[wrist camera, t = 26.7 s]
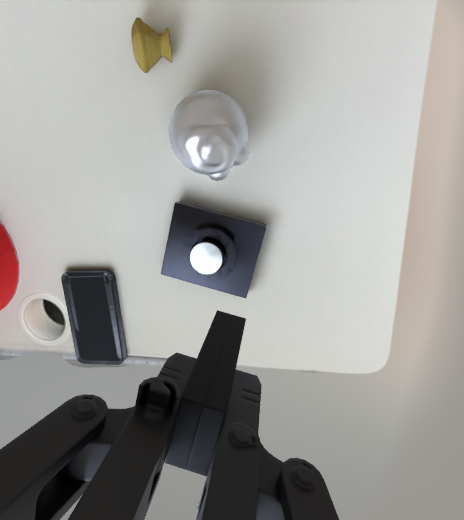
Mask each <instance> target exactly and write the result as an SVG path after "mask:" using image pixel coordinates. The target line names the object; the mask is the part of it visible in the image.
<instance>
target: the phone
mask: <svg viewBox="0 0 464 520" xmlns="http://www.w3.org/2000/svg"><path fill="white" fill-rule="evenodd" d="M61 279H62V285H63V290H64V295H65V300H66V306H67V311H68V316H69V321H70V326H71V332H72V337H73V342H74V347H75V353H76V357H77V360H78V361H79V362H81V363H84V364H108V365H120V364H121V363H122V362H123V361H124V360H125V359H126V357H127V354H126V347H125V340H124V334H123V327H122V320H121V313H120V306H119V299H118V292H117V286H116V279H115V275H114V273H113V272H112V271H110V270H70V271H68V272H66V273H64V274H63V275H62V277H61Z"/></svg>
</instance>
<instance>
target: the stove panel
mask: <svg viewBox="0 0 464 520" xmlns="http://www.w3.org/2000/svg"><path fill="white" fill-rule="evenodd" d="M266 226H267V225H266V224H263V223H259V222H255V221H252V220H248V219H244V218H241V217H237V216H234V215H230V214H226V213H223V212H219V211H215V210H212V209H208V208H204V207H201V206H197V205H193V204H190V203H186V202H182V201H178V202H175V205H174V211H173V216H172V221H171V226H170V231H169V236H168V241H167V246H166V251H165V256H164V261H163V266H162V271H161V274H163V275H166V276H170V277H173V278H177V279H180V280H184V281H187V282H191V283H194V284H198V285H201V286H205V287H208V288H212V289H215V290H219V291H222V292H226V293H229V294H233V295H236V296H240V297H243V298H246V296H247V293H248V289H249V286H250V282H251V279H252V276H253V272H254V269H255V265H256V262H257V258H258V255H259V251H260V248H261V244H262V241H263V237H264V234H265V230H266ZM204 239H213V240H215V241H217V242H219V243H220V244H221V245H222V247H223V249H224V252H225V259H224V261H223V263H222V265H221V267H220V268H219V269H218V270H217V271H216V272H215V273H212V274H202V273H200V272H198V271H196V270H195V269H194V268H193V266H192V264H191V261H190V253H191V251H192V249H193V248H194V247H195V246H196V245H197V244H198V243H199V242H200V241H202V240H204Z"/></svg>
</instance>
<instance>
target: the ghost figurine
mask: <svg viewBox="0 0 464 520" xmlns="http://www.w3.org/2000/svg"><path fill="white" fill-rule="evenodd" d="M169 138H170V143H171V146H172V149H173V151H174V153H175V155H176V156H177V158H178V159H179V160H180V161H181V163H182V164H184V165H185V166H186V167H187V168H189V169H190V170H192V171H194V172H197V173H200V174H205V175H208V176H209V177H210V178H211V179H212V180H215V181H219V180H223V179H225V178H226V177H227V176H228V174H229V171H230V169H231V168H232V167H233V166H237V165H241V164H243V163H244V162H245V161H246V160H247V158H248V156H249V154H250V149H249V146H248V125H247V121H246V118H245V115H244V113H243V111H242V109H241V108H240V106H239V105H238V104H237V103H236V102H235V101H234V100H233V99H232V98H231V97H229V96H228V95H226V94H224V93H222V92H219V91H215V90H201V91H197V92H194V93H192V94H190V95H188V96H186V97H185V98H184V99H183V100H182V101H181V102H180V103H179V104H178V105H177V107H176V108H175V110H174V112H173V114H172V116H171V120H170V124H169Z"/></svg>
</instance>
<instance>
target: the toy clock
mask: <svg viewBox="0 0 464 520" xmlns="http://www.w3.org/2000/svg"><path fill="white" fill-rule="evenodd" d="M18 282H19V262H18V257H17V253H16V250H15V247H14V245H13V242H12V240H11V238H10V236H9V235H8V233H7V231H6V230H5V228H4V227H3V225H2V224H1V223H0V310H2V309H3V308H4V307H6V306H7V304H8V303H9V302H10V301H11V300H12V298H13V296H14V294H15V292H16V289H17V286H18Z"/></svg>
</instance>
